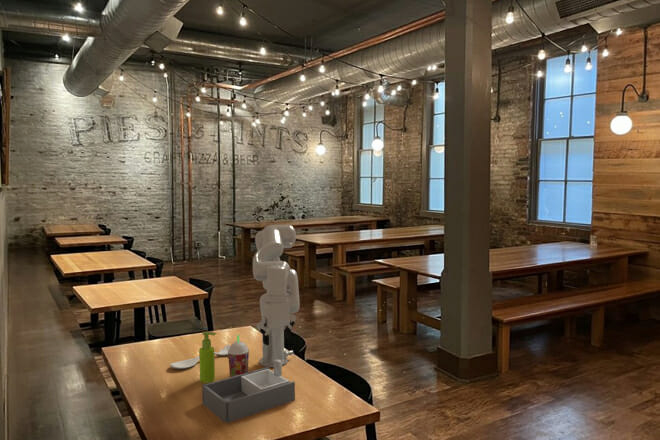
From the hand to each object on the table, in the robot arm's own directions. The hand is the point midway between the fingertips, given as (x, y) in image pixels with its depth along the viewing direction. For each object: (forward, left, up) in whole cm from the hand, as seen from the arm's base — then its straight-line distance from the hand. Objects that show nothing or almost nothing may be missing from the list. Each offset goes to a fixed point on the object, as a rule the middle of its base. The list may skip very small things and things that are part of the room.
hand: (277, 341), depth 192 cm
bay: (+13, +1, -20) cm, 24 cm away
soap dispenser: (+16, -27, -20) cm, 38 cm away
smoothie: (+8, -16, -20) cm, 27 cm away
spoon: (+8, -49, -21) cm, 54 cm away
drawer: (+5, +1, -19) cm, 19 cm away
